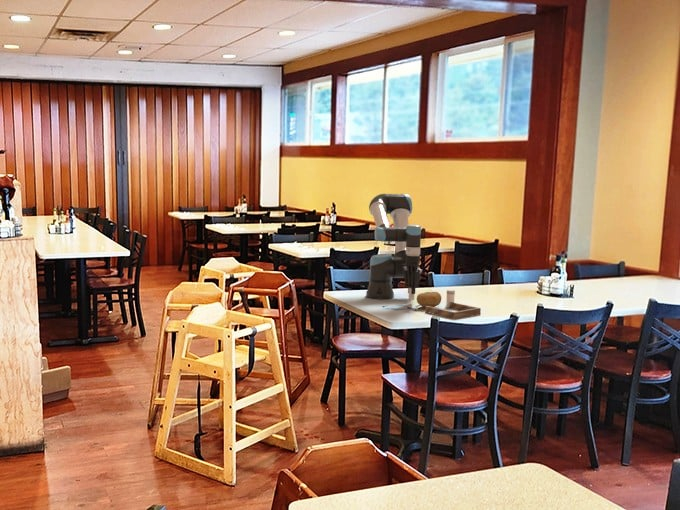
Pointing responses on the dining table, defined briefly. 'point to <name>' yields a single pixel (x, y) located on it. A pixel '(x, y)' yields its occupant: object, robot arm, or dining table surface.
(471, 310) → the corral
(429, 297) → the potato
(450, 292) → the pepper shaker
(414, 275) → the robot arm
